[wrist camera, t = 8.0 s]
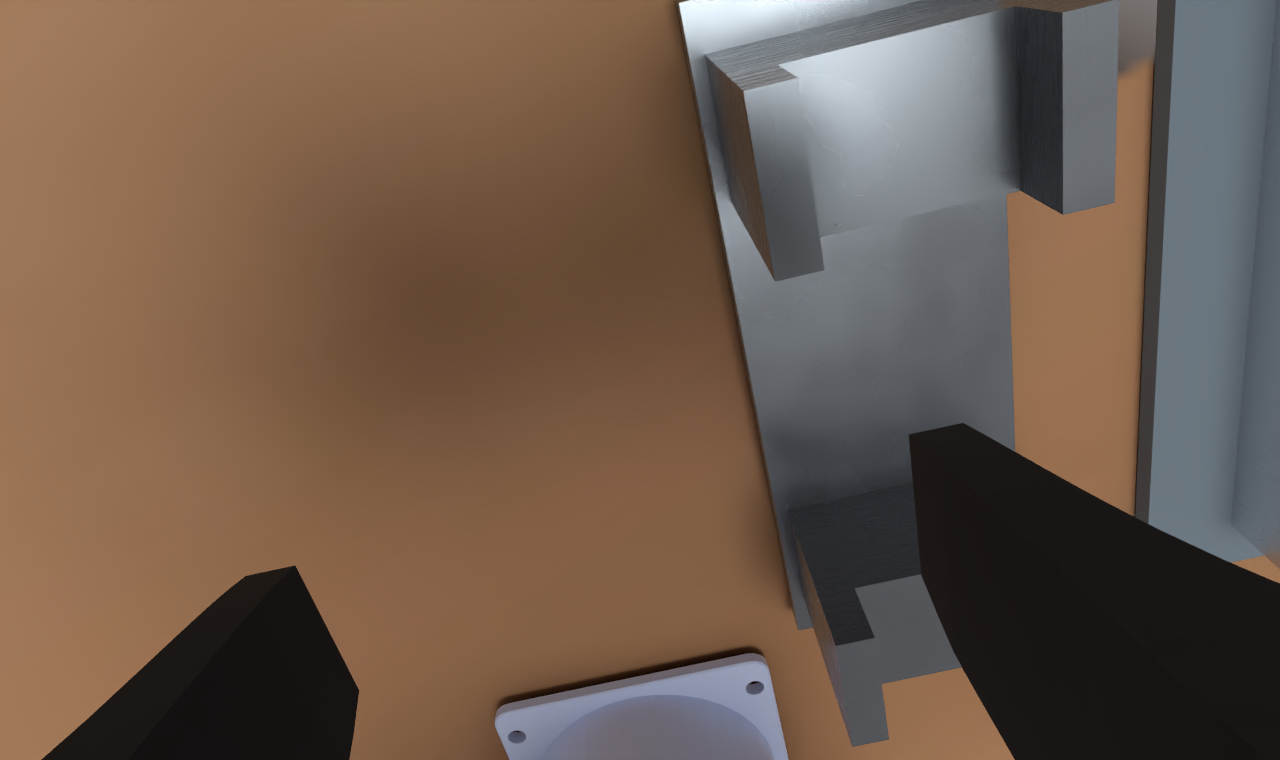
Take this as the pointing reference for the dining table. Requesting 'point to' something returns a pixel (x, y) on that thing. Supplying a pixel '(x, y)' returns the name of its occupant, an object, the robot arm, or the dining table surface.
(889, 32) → the rack
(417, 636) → the dining table surface
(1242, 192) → the mat
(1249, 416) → the rail
